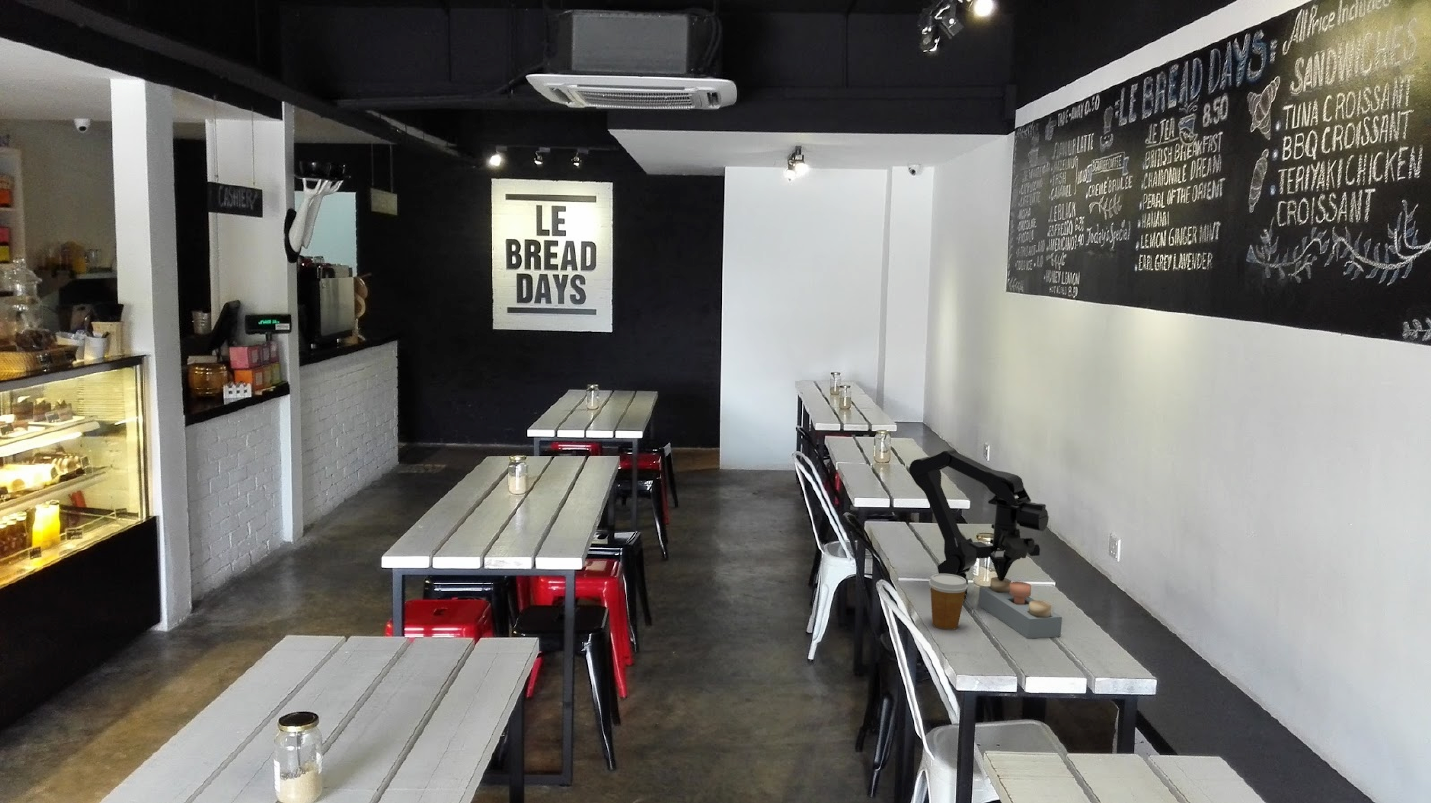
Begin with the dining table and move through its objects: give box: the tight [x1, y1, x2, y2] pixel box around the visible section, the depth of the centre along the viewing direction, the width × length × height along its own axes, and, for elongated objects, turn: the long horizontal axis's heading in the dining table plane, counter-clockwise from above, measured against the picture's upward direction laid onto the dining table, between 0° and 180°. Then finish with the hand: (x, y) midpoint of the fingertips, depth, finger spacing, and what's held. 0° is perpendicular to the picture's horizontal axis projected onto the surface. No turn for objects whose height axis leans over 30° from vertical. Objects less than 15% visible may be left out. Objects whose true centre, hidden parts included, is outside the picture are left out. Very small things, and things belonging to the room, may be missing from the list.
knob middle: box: [1009, 580, 1032, 605], centre depth 259 cm, size 5×5×7 cm
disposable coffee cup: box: [928, 573, 969, 630], centre depth 254 cm, size 10×10×12 cm
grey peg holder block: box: [977, 585, 1063, 640], centre depth 260 cm, size 9×24×5 cm, turn 15°
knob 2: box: [1029, 599, 1052, 618], centre depth 251 cm, size 5×5×7 cm
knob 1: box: [989, 576, 1012, 593], centre depth 268 cm, size 5×5×7 cm
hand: (1000, 580), depth 268 cm, fingers closed, pressing on knob 1
